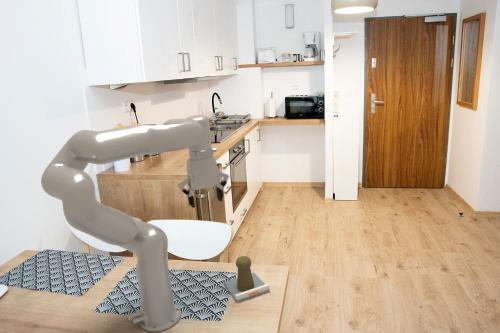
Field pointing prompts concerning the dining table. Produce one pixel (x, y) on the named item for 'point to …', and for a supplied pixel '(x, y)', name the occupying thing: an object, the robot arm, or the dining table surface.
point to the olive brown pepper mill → (244, 274)
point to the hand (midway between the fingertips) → (206, 203)
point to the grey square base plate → (241, 296)
